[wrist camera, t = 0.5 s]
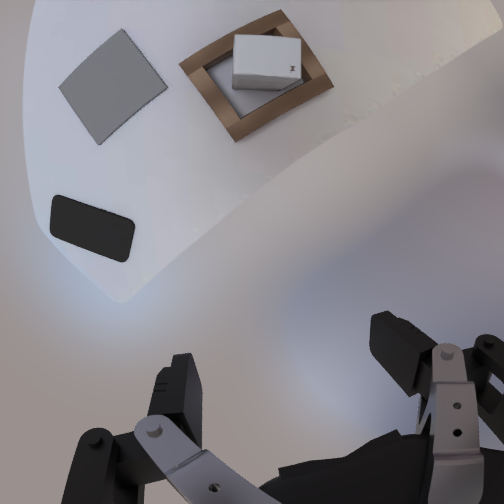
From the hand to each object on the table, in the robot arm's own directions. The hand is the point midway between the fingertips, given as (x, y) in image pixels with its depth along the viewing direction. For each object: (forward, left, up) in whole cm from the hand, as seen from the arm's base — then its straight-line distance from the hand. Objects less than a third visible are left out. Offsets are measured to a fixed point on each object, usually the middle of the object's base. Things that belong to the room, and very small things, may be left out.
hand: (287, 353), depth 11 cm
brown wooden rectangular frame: (-12, +9, -29) cm, 32 cm away
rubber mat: (-23, -7, -29) cm, 37 cm away
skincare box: (-12, +9, -29) cm, 33 cm away
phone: (-9, -23, -29) cm, 38 cm away
